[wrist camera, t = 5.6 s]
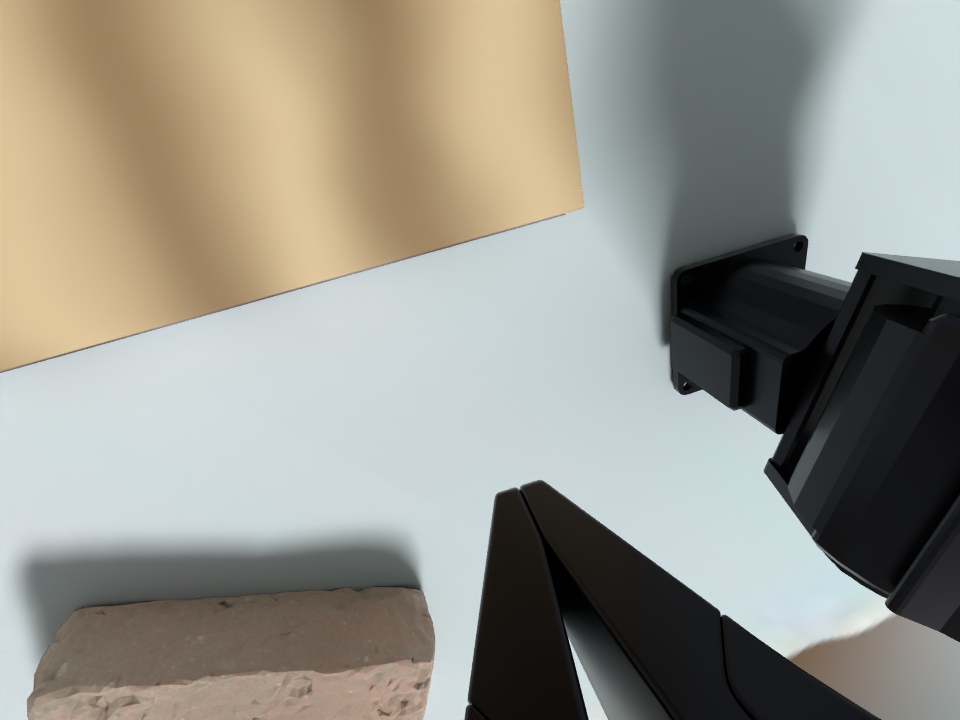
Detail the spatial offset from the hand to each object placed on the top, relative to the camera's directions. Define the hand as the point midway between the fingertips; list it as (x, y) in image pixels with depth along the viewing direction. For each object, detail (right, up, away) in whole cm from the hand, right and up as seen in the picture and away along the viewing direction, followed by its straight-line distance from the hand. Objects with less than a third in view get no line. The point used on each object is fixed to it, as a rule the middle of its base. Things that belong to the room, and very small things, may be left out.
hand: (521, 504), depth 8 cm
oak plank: (-9, +9, +5) cm, 14 cm away
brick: (-12, -13, +17) cm, 24 cm away
